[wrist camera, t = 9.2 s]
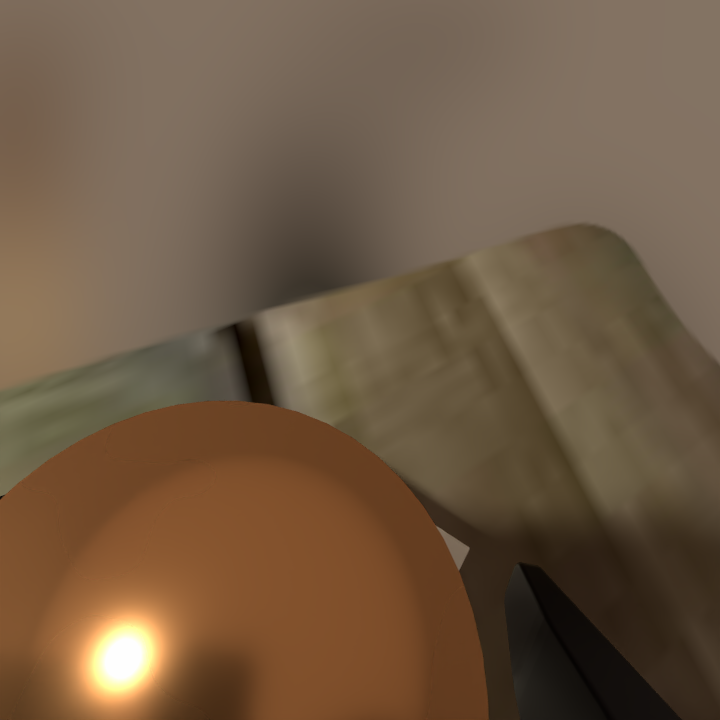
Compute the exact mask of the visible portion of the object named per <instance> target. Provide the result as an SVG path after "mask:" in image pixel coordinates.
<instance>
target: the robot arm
mask: <svg viewBox="0 0 720 720" xmlns="http://www.w3.org/2000/svg"><path fill="white" fill-rule="evenodd" d="M5 495H6V494H5ZM5 495H3V496H0V500H1V499H2V498H3V497H4V496H5ZM504 604H505V613H506V622H507V631H508V640H509V649H510V658H511V667H512V675H513V683H514V690H515V695H516V701H517V706H518V710H519V715H520V720H681V718H680V717H679V716H678V715H677V714H676V713H675V712H674V711H673V710H672V709H671V708H670V707H669V706H668V704H667V703H666V702H665V701H664V700H663V699H662V698H661V697H660V696H659V695H658V694H657V693H656V691H655V690H654V689H653V688H652V687H651V686H650V685H649V684H648V683H647V682H646V681H645V680H644V679H643V677H642V676H641V675H640V674H639V673H638V672H637V671H636V670H635V669H634V668H633V667H632V666H631V665H630V663H629V662H628V661H627V660H626V659H625V658H624V657H623V656H622V655H621V654H620V653H619V652H618V651H617V649H616V648H615V647H614V646H613V645H612V644H611V643H610V642H609V641H608V640H607V639H606V638H605V637H604V635H603V634H602V633H601V632H600V631H599V630H598V629H597V628H596V627H595V626H594V625H593V624H592V623H591V621H590V620H589V619H588V618H587V617H586V616H585V615H584V614H583V613H582V612H581V611H580V610H579V608H578V607H577V606H576V605H575V604H574V603H573V602H572V601H571V600H570V599H569V598H568V597H567V596H566V594H565V593H564V592H563V591H562V590H561V589H560V588H559V587H558V586H557V585H556V584H555V583H554V582H553V580H552V579H551V578H550V577H549V576H548V575H547V574H546V573H545V572H544V571H543V570H542V569H541V568H540V567H539V566H537V565H533V564H527V563H522V562H519V563H517V564H516V565H515V567H514V570H513V572H512V575H511V578H510V581H509V584H508V586H507V589H506V592H505V600H504Z"/></svg>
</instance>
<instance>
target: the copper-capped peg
mask: <svg viewBox="0 0 720 720" xmlns="http://www.w3.org/2000/svg"><path fill="white" fill-rule="evenodd" d="M0 720H489V713H488V695H487V686H486V677H485V669H484V660H483V653H482V649H481V644H480V640H479V635H478V631H477V627H476V622H475V618H474V613H473V610H472V607H471V604H470V601H469V598H468V595H467V592H466V589H465V586H464V584H463V581H462V578H461V575H460V572H459V570H458V568H457V566H456V564H455V562H454V559H453V557H452V555H451V553H450V551H449V549H448V547H447V545H446V543H445V540H444V538H443V537H442V535H441V533H440V532H439V530H438V529H437V527H436V525H435V524H434V522H433V521H432V519H431V517H430V516H429V514H428V513H427V511H426V509H425V508H424V506H423V505H422V504H421V503H420V501H419V500H418V499H417V498H416V496H415V495H414V494H413V493H412V491H411V490H410V489H409V488H408V487H407V485H406V484H405V483H404V482H403V480H402V479H401V478H400V477H399V476H398V475H397V474H395V473H394V472H393V471H392V470H391V469H390V468H389V467H388V466H387V465H386V464H385V463H384V462H383V461H382V460H381V459H380V458H379V457H378V456H376V455H375V454H374V453H372V452H371V451H370V450H368V449H367V448H366V447H364V446H363V445H362V444H360V443H359V442H357V441H356V440H355V439H353V438H352V437H350V436H348V435H346V434H345V433H343V432H341V431H339V430H337V429H336V428H334V427H332V426H330V425H329V424H327V423H324V422H322V421H319V420H317V419H314V418H312V417H309V416H307V415H304V414H302V413H299V412H296V411H292V410H288V409H284V408H280V407H276V406H272V405H268V404H260V403H252V402H244V401H204V402H196V403H188V404H180V405H174V406H170V407H166V408H162V409H158V410H153V411H149V412H145V413H142V414H140V415H137V416H134V417H131V418H129V419H126V420H123V421H120V422H118V423H115V424H112V425H110V426H108V427H106V428H104V429H102V430H100V431H98V432H96V433H94V434H92V435H90V436H88V437H86V438H84V439H82V440H80V441H78V442H77V443H75V444H73V445H72V446H70V447H69V448H67V449H65V450H64V451H62V452H60V453H59V454H57V455H56V456H54V457H52V458H51V459H49V460H48V461H47V462H45V463H44V464H43V465H41V466H40V467H39V468H37V469H36V470H35V471H33V472H32V473H31V474H30V475H28V476H27V477H26V478H24V479H23V480H22V481H20V482H19V483H18V484H17V485H16V486H15V487H13V488H12V489H11V490H10V491H9V492H8V493H7V494H6V495H5V496H4V497H3V498H2V499H1V500H0Z"/></svg>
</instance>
